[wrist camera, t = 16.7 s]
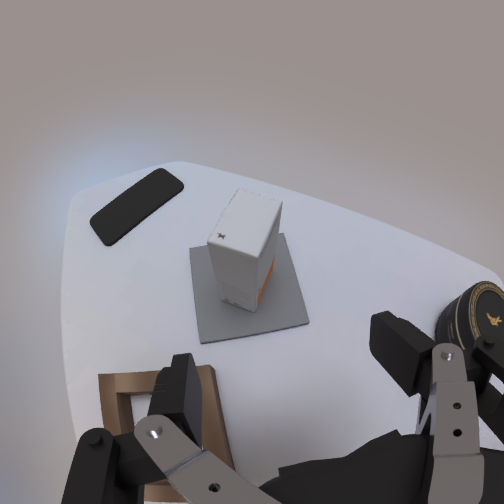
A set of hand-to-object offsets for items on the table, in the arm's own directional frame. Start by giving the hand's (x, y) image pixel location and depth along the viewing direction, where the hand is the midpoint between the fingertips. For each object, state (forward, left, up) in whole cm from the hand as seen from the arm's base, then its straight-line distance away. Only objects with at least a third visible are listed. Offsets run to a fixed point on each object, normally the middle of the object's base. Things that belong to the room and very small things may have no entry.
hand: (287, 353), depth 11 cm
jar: (-26, +3, -18) cm, 32 cm away
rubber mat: (0, -11, -18) cm, 21 cm away
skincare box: (0, -11, -18) cm, 21 cm away
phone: (+14, -27, -19) cm, 36 cm away
